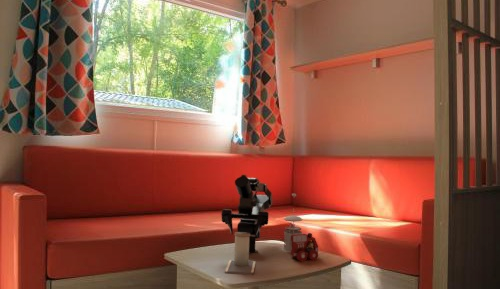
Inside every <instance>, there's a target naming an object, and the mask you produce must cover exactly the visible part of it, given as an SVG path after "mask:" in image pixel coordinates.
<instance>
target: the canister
mask: <svg viewBox="0 0 500 289" xmlns="http://www.w3.org/2000/svg"><path fill="white" fill-rule="evenodd" d="M249 236H250V233H247V232H238V231H237V232H234V252H233V253H234V257H233V261H234V265H237V266H247V265H248V264H249V261H250V260H249V259H250V258H249V256H250V253H249Z"/></svg>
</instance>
